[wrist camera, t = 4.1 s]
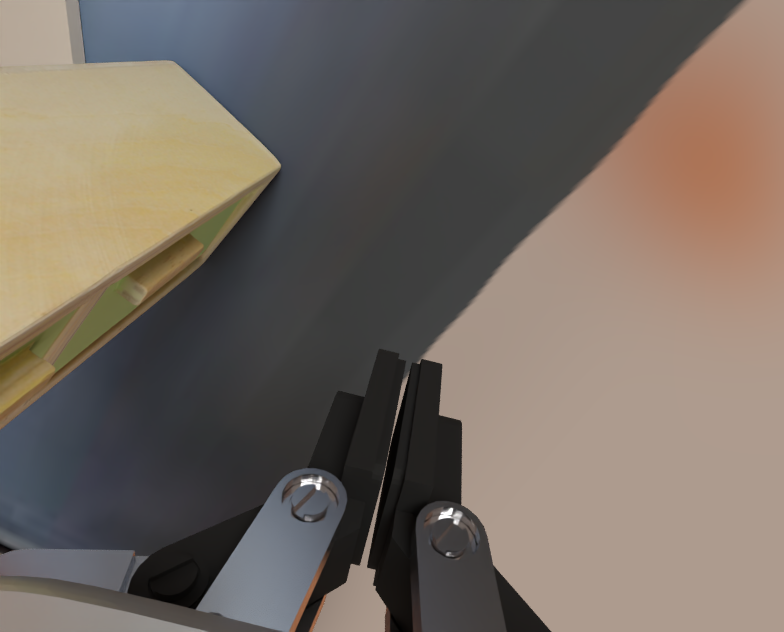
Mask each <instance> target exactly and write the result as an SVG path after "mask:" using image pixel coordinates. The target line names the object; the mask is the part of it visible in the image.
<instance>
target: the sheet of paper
mask: <svg viewBox="0 0 784 632" xmlns="http://www.w3.org/2000/svg"><path fill="white" fill-rule="evenodd" d="M84 63H85V55H84V46H83V37H82V28H81V19H80V10H79V2H78V0H0V67H4V66H32V65H66V64H84Z"/></svg>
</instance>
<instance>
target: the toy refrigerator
mask: <svg viewBox="0 0 784 632" xmlns="http://www.w3.org/2000/svg"><path fill="white" fill-rule="evenodd" d="M280 169H281V165H280V163H279V161H278V160H277V159H276V158H275V157H274V156H273V155H272V154H271V153H270V151H269V150H268V149H267V148H266V147H265V146H264V145H263V144H262V143H261V142H260V141H259V140H257V139H256V138H255V137H254V136H253V135H252V134H251V133H250V132H249V131H248V130H247V129H246V128H245V127H244V126H243V125H242V124H241V123H239V122H238V121H237V120H236V119H235V118H234V117H233V116H232V115H231V114H230V113H229V112H228V111H227V110H226V109H225V108H224V107H223V106H222V105H221V104H220V103H219V102H217V101H216V100H215V99H214V98H213V97H212V96H211V95H210V94H209V93H208V92H207V91H206V90H205V89H204V88H203V87H202V86H201V85H199V84H198V83H197V82H196V81H195V80H194V79H193V78H192V77H191V76H190V75H189V74H188V73H187V72H185V71H184V70H183V69H182V68H181V67H180V66H179V65H178V64H176V63H175V62H173V61H166V60H163V61H142V62H110V63H84V64H66V65H32V66H4V67H0V430H1V429H2V428H3V427H4V426H5V425H7V424H8V423H9V422H10V421H12V420H13V419H14V418H15V417H16V416H18V415H19V414H20V413H21V412H23V411H24V410H25V409H26V408H27V407H29V406H30V405H31V404H32V403H34V402H35V401H36V400H37V399H38V398H40V397H41V396H42V395H43V394H45V393H46V392H47V391H48V390H50V389H51V388H52V387H53V386H54V385H56V384H57V383H58V382H59V381H60V380H62V379H63V378H64V377H65V376H67V375H68V374H69V373H70V372H72V371H73V370H74V369H75V368H76V367H78V366H79V365H80V364H81V363H83V362H84V361H85V360H86V359H87V358H89V357H90V356H91V355H92V354H94V353H95V352H96V351H97V350H99V349H100V348H101V347H102V346H104V345H105V344H106V343H107V342H109V341H110V340H111V339H112V338H113V337H115V336H116V335H117V334H118V333H120V332H121V331H122V330H123V329H124V328H126V327H127V326H128V325H129V324H131V323H132V322H133V321H134V320H135V319H137V318H138V317H139V316H140V315H142V314H143V313H144V312H145V311H147V310H148V309H149V308H150V307H152V306H153V305H154V304H155V303H156V302H158V301H159V300H160V299H161V298H162V297H164V296H165V295H166V294H167V293H169V292H170V291H171V290H172V289H174V288H175V287H176V286H177V285H178V284H180V283H181V282H182V281H183V280H185V279H186V278H187V277H188V276H189V275H191V274H192V273H193V272H194V271H195V270H197V269H198V268H199V267H200V266H201V265H202V264H203V263H204V262H205V261H206V260H207V258H208V257H209V256H210V255H211V254H212V252H213V251H214V250H215V249H216V248H217V246H218V245H219V244H220V243H221V241H222V240H223V239H224V238H225V236H226V235H227V234H228V233H229V232H230V230H231V229H232V228H233V227H234V226H235V224H236V223H237V222H238V221H239V219H240V218H241V217H242V216H243V214H244V213H245V212H246V211H247V210H248V208H249V207H250V206H251V205H252V203H253V202H254V201H255V200H256V198H257V197H258V196H259V195H260V194H261V192H262V191H263V190H264V189H265V188H266V186H267V185H268V184H269V183H270V181H271V180H272V179H273V178H274V177H275V175H276V174H277V173H278V172H279V170H280Z"/></svg>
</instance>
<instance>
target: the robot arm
mask: <svg viewBox="0 0 784 632" xmlns="http://www.w3.org/2000/svg"><path fill="white" fill-rule="evenodd" d="M398 357H399V353H395V352H391V351H386V350H382V349H379V351H378V354H377V357H376V361H375V364H374V367H373V371H372V374H371V378H370V381H369V384H368V388H367V391H366V395H365V397H362V396H358V395H353V394H349V393H345V392H341V391H338V392H337V394H336V396H335V398H334V401H333V404H332V406H331V409H330V412H329V414H328V417H327V419H326V422H325V425H324V427H323V430H322V432H321V435H320V438H319V440H318V443H317V446H316V448H315V451H314V453H313V456H312V459H311V461H310V464H309V466H308V468H304V469H300V470H296V471H293V472H291V473H290V474H288V475H286V476H285V477H284V478H283V479H282V480H281V481H280V482H279V483H278V484H277V486H276V487H275V489H274V490H273V492H272V493H271V495H270V496H269V498H268V500H267V501H266V503H265V504H263V505H261V506H259V507H256V508H254V509H252V510H249V511H247V512H245V513H242V514H240V515H238V516H236V517H233V518H231V519H229V520H226V521H224V522H222V523H219V524H217V525H215V526H213V527H210V528H208V529H206V530H203V531H201V532H199V533H196V534H194V535H192V536H189V537H187V538H185V539H183V540H180V541H178V542H176V543H173V544H171V545H169V546H166V547H164V548H162V549H160V550H159V551H157V552H155V553H154V554H152V555H150V556H135V551H131V550H70V549H23V550H15V551H10V552H8V553H5V554H3V555H0V632H312V631H313V628H314V626H315V624H316V621H317V619H318V617H319V614H320V612H321V609H322V607H323V605H324V602H325V599H326V595H327V594H328V593H329V592H331V591H333V590H334V589H336V588H338V587H339V586H341V585H342V584H344V583H346V581H347V576H348V573H349V569H350V565H351V564H355V565H360V562H361V559H362V555H363V551H364V547H365V543H366V540H367V536H368V532H369V528H370V525H371V521H372V517H373V514H374V510H375V506H376V502H377V499H378V495H379V491H380V487H381V484H382V480H383V476H384V471H385V467H386V471H385V477H384V481H383V487H382V492H381V497H380V502H379V507H378V512H377V518H376V523H375V528H374V533H373V538H372V544H371V549H370V554H369V559H368V565H367V567H368V568H371V569H375V570H376V572H375V578H374V583H373V585H374V586H376V591H377V593H378V594H379V596H380V597H381V599H382V600H383V602H384V603H385V605H386V606H387V607H386V614H385V632H551V631H550V630H549V629H548V627H547V626H546V625H545V624H544V623H543V622H542V621H541V619H540V618H539V617H538V616H537V615H536V614H535V613H534V611H533V610H532V609H531V608H530V607H529V606H528V605H527V603H526V602H525V601H524V600H523V599H522V598H521V597H520V595H518V593H517V592H516V591H515V590H514V589H513V587H512V586H511V585H510V584H509V583H508V582H507V580H506V579H505V578H504V577H503V576H502V575H501V574H500V573H499V571H498V570H497V569H496V568H495V567H494V566H493V562H492V557H491V552H490V548H489V543H488V538H487V535H486V532H485V529H484V526H483V525H482V523H481V522H480V520H479V519H478V517H477V516H476V515H474V514H473V513H472V512H471V511H470V510H469V509H467V508H465V507H464V506H462V505H461V475H462V474H461V473H462V423H461V421H460V420H456V419H452V418H448V417H444V416H440V415H439V404H440V390H441V377H442V364H440V363H436V362H432V361H428V360H424V359H422V360H421V362H420V364H417V363H412V366H411V369H410V373H409V377H408V381H407V384H406V388H405V392H404V396H403V400H402V403H401V407H400V411H399V414H398V418H397V422H396V426H395V430H394V433H393V437H392V441H391V436H392V431H393V426H394V420H395V415H396V410H397V405H398V400H399V395H400V390H401V384H402V379H403V374H404V369H405V364H406V361H404V360H400V359H398ZM390 441H391V446H390ZM389 446H390V451H389ZM388 451H389V455H388ZM387 457H388V460H387ZM386 462H387V466H386Z"/></svg>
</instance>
